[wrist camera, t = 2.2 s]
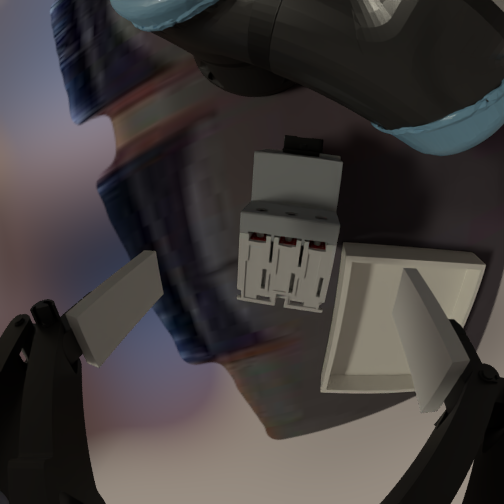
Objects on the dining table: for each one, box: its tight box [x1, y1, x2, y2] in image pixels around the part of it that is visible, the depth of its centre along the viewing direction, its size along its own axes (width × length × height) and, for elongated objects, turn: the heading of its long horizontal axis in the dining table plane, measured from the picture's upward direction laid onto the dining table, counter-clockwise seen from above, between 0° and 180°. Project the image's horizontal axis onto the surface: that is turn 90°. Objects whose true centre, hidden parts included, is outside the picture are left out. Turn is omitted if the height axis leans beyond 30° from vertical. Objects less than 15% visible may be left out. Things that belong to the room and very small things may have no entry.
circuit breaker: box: [237, 135, 343, 313], centre depth 27 cm, size 8×14×15 cm, turn 176°
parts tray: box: [321, 242, 486, 393], centre depth 36 cm, size 26×22×4 cm
